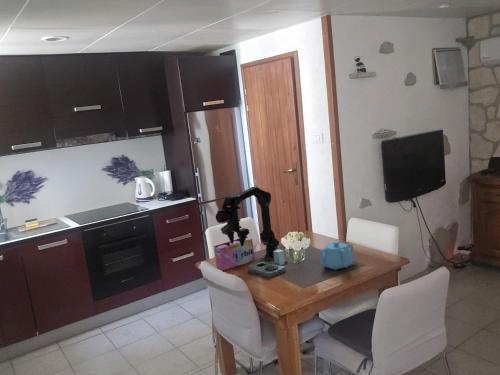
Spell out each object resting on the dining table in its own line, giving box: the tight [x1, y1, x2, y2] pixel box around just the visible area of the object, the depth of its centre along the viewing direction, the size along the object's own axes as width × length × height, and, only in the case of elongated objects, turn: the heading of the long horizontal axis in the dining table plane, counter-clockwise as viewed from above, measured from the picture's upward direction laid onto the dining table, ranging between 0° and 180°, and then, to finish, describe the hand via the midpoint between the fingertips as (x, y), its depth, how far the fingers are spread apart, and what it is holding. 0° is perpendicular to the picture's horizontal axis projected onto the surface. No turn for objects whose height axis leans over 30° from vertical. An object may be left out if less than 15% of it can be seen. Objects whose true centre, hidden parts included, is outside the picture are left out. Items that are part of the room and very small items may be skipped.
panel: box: [247, 260, 287, 279], centre depth 242 cm, size 12×18×3 cm, turn 40°
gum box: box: [213, 236, 256, 271], centre depth 260 cm, size 24×8×14 cm, turn 124°
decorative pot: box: [319, 241, 355, 271], centre depth 236 cm, size 16×16×14 cm
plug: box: [273, 248, 286, 266], centre depth 251 cm, size 4×4×8 cm
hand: (237, 244), depth 250 cm, fingers open, 9 cm apart
